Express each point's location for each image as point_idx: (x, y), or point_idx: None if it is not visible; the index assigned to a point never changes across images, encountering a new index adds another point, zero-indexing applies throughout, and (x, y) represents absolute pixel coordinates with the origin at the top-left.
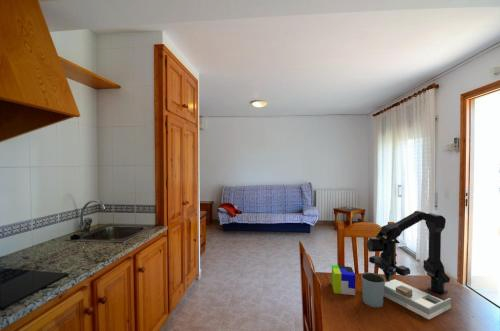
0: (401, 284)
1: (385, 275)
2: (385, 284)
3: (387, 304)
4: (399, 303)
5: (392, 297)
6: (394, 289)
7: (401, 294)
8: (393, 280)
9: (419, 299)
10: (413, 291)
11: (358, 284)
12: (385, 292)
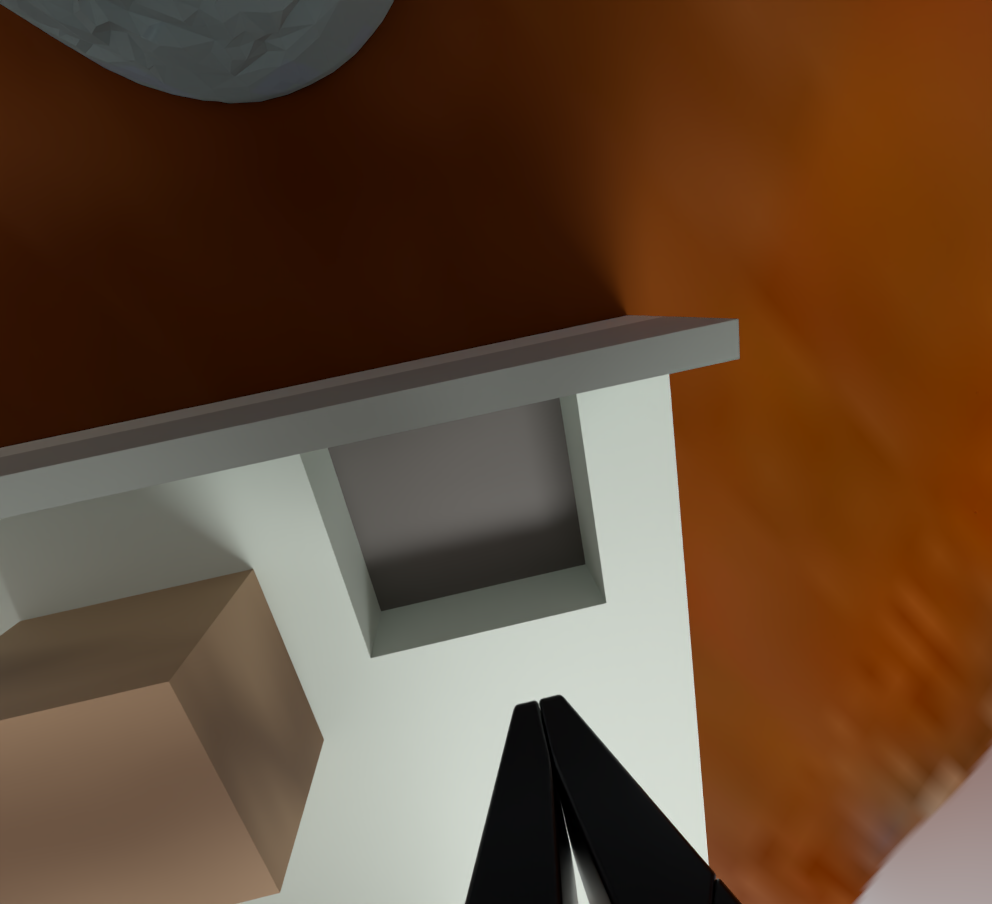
0: None
1: (652, 863)
2: (633, 643)
3: (58, 163)
4: (51, 439)
5: (174, 419)
6: (421, 670)
7: (83, 634)
8: None
9: None
10: (290, 901)
11: (926, 180)
12: (334, 387)
